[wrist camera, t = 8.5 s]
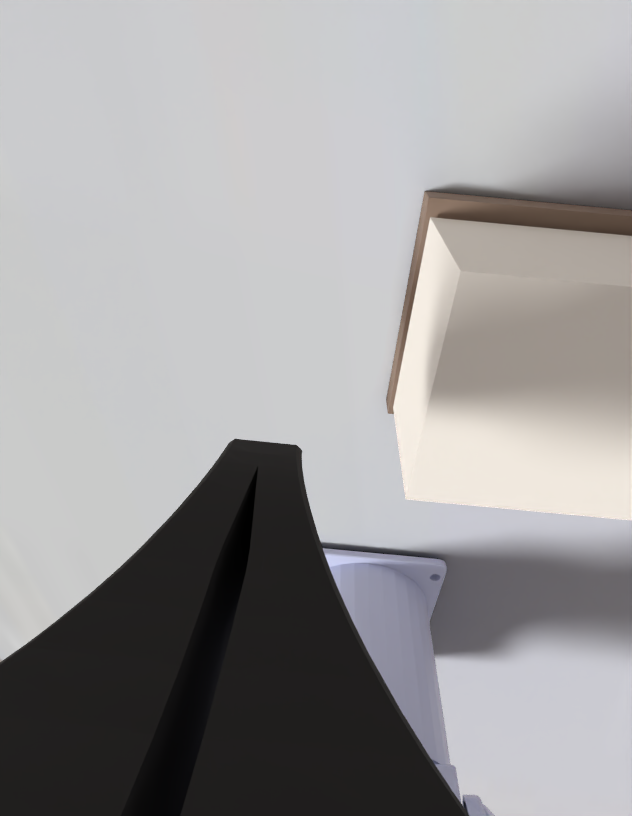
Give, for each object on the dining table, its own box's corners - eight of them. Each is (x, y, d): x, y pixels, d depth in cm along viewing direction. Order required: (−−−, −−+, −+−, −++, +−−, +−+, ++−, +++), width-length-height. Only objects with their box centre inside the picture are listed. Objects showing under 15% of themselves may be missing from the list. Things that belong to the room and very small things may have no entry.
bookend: (588, 425, 19) (654, 522, 15) (393, 407, 19) (405, 499, 15) (674, 239, 15) (795, 302, 11) (430, 217, 15) (460, 271, 11)
